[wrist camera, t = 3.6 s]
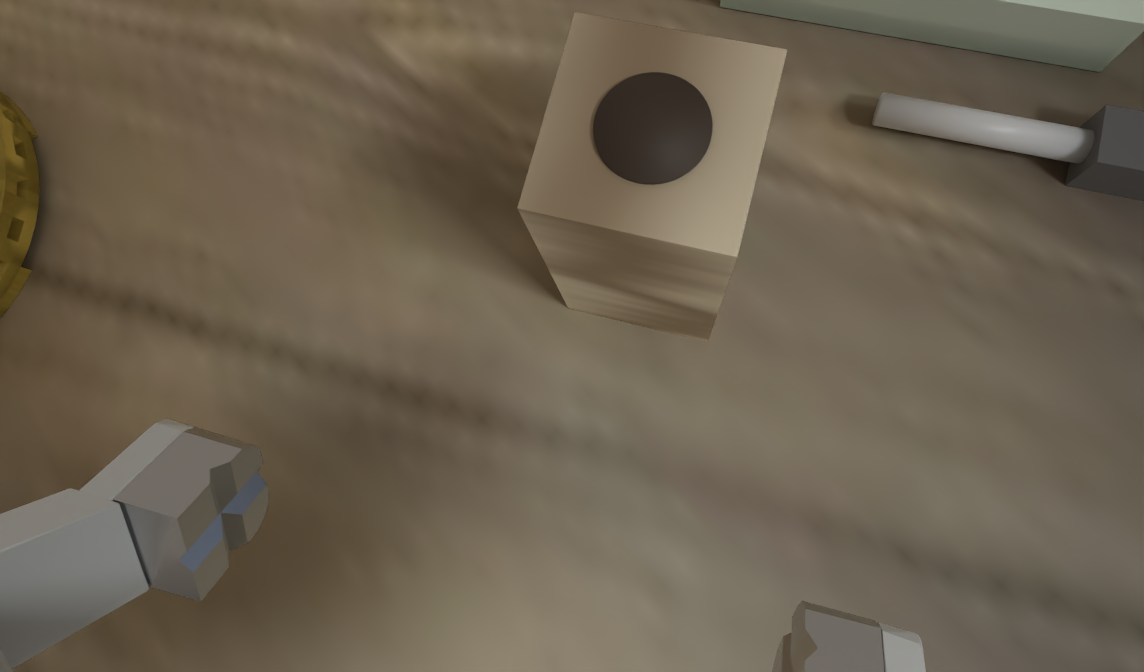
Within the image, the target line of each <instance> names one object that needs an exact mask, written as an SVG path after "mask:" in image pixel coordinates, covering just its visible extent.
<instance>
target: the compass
mask: <svg viewBox="0 0 1144 672" xmlns="http://www.w3.org/2000/svg"><path fill="white" fill-rule="evenodd" d="M37 136H38V135H37V134H36V132H35V130H34V128H33V126H32V125H31V123H30V121H29V120H28V118H27V117H26V116H25V115H24V113H23V112H22V111H21V109H20V108H19V107H18V106H17V105H16V104H15V103H14V102H13V101H12V100H11V99H10V98H8V97H7V96H6V95H5V94H3V93H2V92H0V318H1V317H2V316H3V314H4V313H5V312H6V311H7V310H8V309H9V307H10V306H11V304H12V303H13V301H14V300H15V298H16V297H17V295H18V294H19V292H20V291H21V289H22V288H23V286H24V284H25V282H26V280H27V278H28V276H29V275H30V273H31V271H32V270H29V269H26V268H23V267H21V266H22V263H23V261H24V258H25V256H26V254H27V251H28V249H29V246H30V243H31V239H32V236H33V232H34V229H35V225H36V219H37V213H38V207H39V187H40V184H39V172H38V163H37V159H36V154H35V150H34V146H33V143H32V141H31V140H32V139H34V138H36V137H37Z"/></svg>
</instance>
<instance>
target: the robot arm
mask: <svg viewBox="0 0 1144 672" xmlns="http://www.w3.org/2000/svg"><path fill="white" fill-rule="evenodd" d="M262 464H263V460H262V455H261V451H260V448H259V447H257V446H254V445H251V444H248V443H244V442H241V441H238V440H235V439H232V438H229V437H225V436H222V435H219V434H216V433H213V432H210V431H206V430H203V429H200V428H197V427H193V426H190V425H187V424H183V423H180V422H177V421H173V420H170V419H164V420H162V421H159V422H156V423H154V424H153V425H152V426H151V427H150V428H148V429H147V430H146V431H145V432H144V433H143V434H142V435H141V436H139V437H138V438H137V439H136V440H135V441H134V442H133V443H132V444H131V445H129V446H128V447H127V448H126V449H125V450H124V451H123V452H122V453H120V454H119V455H118V456H117V457H116V458H115V459H114V460H113V461H111V462H110V463H109V464H108V465H107V466H106V467H105V468H104V469H102V470H101V471H100V472H99V473H98V474H97V475H96V476H95V477H93V478H92V479H91V480H90V481H89V482H88V483H87V484H86V485H85V486H83V487H82V488H81V489H80V490H76V489H72V488H69V489H66V490H64V491H61V492H58V493H55V494H53V495H50V496H47V497H45V498H42V499H39V500H36V501H34V502H31V503H28V504H26V505H23V506H20V507H17V508H15V509H12V510H9V511H7V512H4V513H1V514H0V672H14V671H13V670H12V669H13V668H15V667H17V666H18V665H20V664H22V663H24V662H25V661H27V660H29V659H30V658H32V657H34V656H36V655H37V654H39V653H41V652H43V651H44V650H46V649H48V648H50V647H51V646H53V645H55V644H56V643H58V642H60V641H62V640H63V639H65V638H67V637H69V636H70V635H72V634H74V633H76V632H77V631H79V630H81V629H82V628H84V627H86V626H88V625H89V624H91V623H93V622H95V621H96V620H98V619H100V618H101V617H103V616H105V615H107V614H108V613H110V612H112V611H114V610H115V609H117V608H119V607H121V606H122V605H124V604H126V603H127V602H129V601H131V600H133V599H134V598H136V597H138V596H140V595H141V594H143V593H145V592H146V591H148V590H149V587H152V588H156V589H159V590H163V591H166V592H169V593H173V594H176V595H180V596H183V597H187V598H190V599H193V600H197V601H200V602H201V601H202V600H203V599H204V597H205V596H206V595H207V594H208V592H209V591H210V590H211V589H212V587H213V586H214V585H215V584H216V582H217V581H218V580H219V579H220V577H221V576H222V575H223V574H224V572H225V571H226V570H227V569H228V567H229V566H230V551H232V550H234V549H236V548H239V547H241V546H243V545H245V544H247V543H248V542H249V541H250V540H251V538H252V537H253V536H254V534H255V533H256V532H257V530H258V529H259V528H260V525H261V523H262V521H263V519H264V516H265V514H266V512H267V508H268V500H269V493H268V486H267V483H266V482H265V481H264V480H263V479H262V477H261V476H260V475H259V474H258V473H257V470H258V469H259V468H260V467H261V466H262ZM148 586H149V587H148ZM772 672H926V669H925V662H924V655H923V647H922V641H921V639H920V638H919V636H918V634H917V633H914V632H911V631H907V630H904V629H900V628H897V627H893V626H890V625H886V624H883V623H879V622H875V620H871V619H868V618H864V617H860V616H857V615H853V614H849V613H846V612H842V611H838V610H834V609H831V608H827V607H823V606H820V605H816V604H812V603H809V602H805V601H801V602H800V603H799V604H798V605H797V608H796V610H795V612H794V614H793V616H792V633H789V634H787V635H784V636H783V638H782V641H781V643H780V645H779V648H778V650H777V654H776V658H775V662H774V666H773V670H772Z"/></svg>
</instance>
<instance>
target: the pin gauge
mask: <svg viewBox="0 0 1144 672" xmlns="http://www.w3.org/2000/svg"><path fill="white" fill-rule="evenodd" d="M873 125H875V126H880V127H885V128H891V129H896V130H901V131H906V132H912V133H917V134H922V135H928V136H933V137H938V138H943V139H949V140H954V141H959V142H965V143H970V144H975V145H981V146H986V147H991V148H996V149H1002V150H1007V151H1012V152H1018V153H1023V154H1028V155H1033V156H1039V157H1044V158H1049V159H1055V160H1060V161H1065V162H1069V167H1068V173H1067V179H1066V185H1065V186H1069V187H1075V188H1080V189H1085V190H1090V191H1095V192H1101V193H1106V194H1111V195H1116V196H1121V197H1126V198H1132V199H1137V200H1142V201H1144V111H1139V110H1134V109H1128V108H1122V107H1117V106H1111V105H1106V106H1104V107H1103V108H1102V109H1101V110H1100V111H1099V112H1097V113H1096V114H1095V115H1094V116H1093V117H1091V118H1090V119H1089V120H1088V121H1087V122H1086V123H1084V124H1083V125H1082V126H1081V127H1080V128H1078V127H1073V126H1067V125H1062V124H1056V123H1051V122H1045V121H1040V120H1034V119H1029V118H1023V117H1018V116H1012V115H1007V114H1001V113H996V112H990V111H985V110H979V109H974V108H968V107H963V106H957V105H952V104H946V103H941V102H935V101H930V100H924V99H919V98H913V97H908V96H902V95H897V94H891V93H886V92H882V94H881V95H880V98H879V100H878V103H877V106H876V109H875V112H874V117H873Z"/></svg>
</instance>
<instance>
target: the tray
mask: <svg viewBox="0 0 1144 672" xmlns="http://www.w3.org/2000/svg"><path fill="white" fill-rule="evenodd" d="M720 7H723V8H729V9H735V10H740V11H746V12H752V13H758V14H764V15H770V16H775V17H781V18H787V19H793V20H799V21H805V22H810V23H816V24H822V25H828V26H834V27H839V28H845V29H851V30H857V31H863V32H869V33H874V34H880V35H886V36H892V37H898V38H904V39H909V40H915V41H921V42H927V43H933V44H939V45H944V46H950V47H956V48H962V49H968V50H973V51H979V52H985V53H991V54H997V55H1003V56H1008V57H1014V58H1020V59H1026V60H1032V61H1038V62H1043V63H1049V64H1055V65H1061V66H1067V67H1073V68H1078V69H1084V70H1090V71H1096V72H1101V71H1102V70H1103V69H1104V68H1105V67H1106V66H1107V65H1108V64H1109V63H1110V62H1112V61H1113V60H1114V59H1115V58H1116V57H1117V56H1118V55H1119V54H1120V53H1121V52H1122V51H1123V50H1124V49H1125V48H1127V47H1128V46H1129V45H1130V44H1131V43H1132V42H1133V41H1134V40H1135V39H1136V38H1137V37H1138V36H1139V35H1140V34H1141V33H1143V32H1144V0H720Z"/></svg>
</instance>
